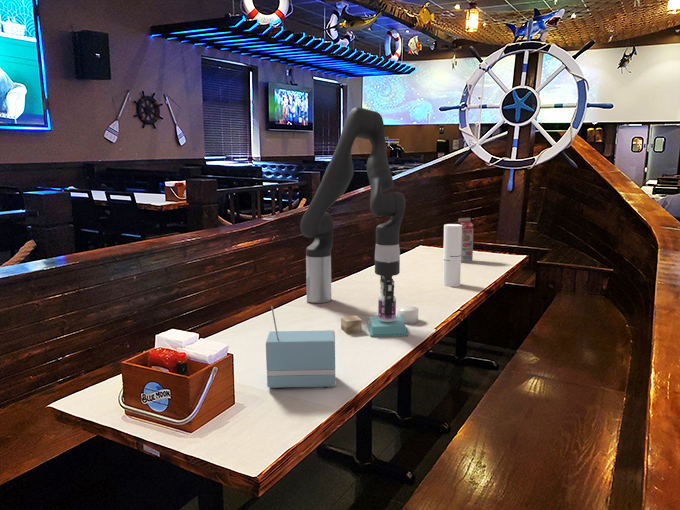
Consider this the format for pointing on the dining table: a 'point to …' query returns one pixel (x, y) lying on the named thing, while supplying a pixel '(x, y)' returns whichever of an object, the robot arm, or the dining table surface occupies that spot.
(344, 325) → the tan square block
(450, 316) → the dining table surface
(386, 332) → the podium
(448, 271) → the cylindrical container
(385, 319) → the pill bottle
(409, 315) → the white rounded puck
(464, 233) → the juice carton
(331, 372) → the radio
